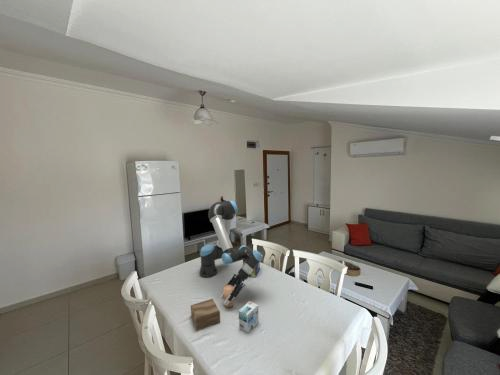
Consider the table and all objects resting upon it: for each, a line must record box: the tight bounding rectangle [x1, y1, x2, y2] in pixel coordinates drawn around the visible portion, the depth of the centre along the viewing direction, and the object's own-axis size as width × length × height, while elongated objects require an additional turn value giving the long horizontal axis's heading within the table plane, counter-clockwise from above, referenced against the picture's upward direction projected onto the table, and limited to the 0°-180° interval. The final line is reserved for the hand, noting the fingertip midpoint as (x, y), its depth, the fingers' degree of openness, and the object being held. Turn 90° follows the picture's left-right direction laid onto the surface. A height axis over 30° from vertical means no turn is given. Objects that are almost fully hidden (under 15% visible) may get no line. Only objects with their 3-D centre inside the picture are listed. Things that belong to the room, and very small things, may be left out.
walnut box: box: [190, 298, 221, 331], centre depth 131 cm, size 14×14×7 cm
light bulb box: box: [238, 301, 260, 334], centre depth 125 cm, size 11×7×11 cm, turn 143°
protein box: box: [242, 259, 261, 279], centre depth 185 cm, size 10×15×16 cm
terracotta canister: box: [223, 284, 234, 308], centre depth 143 cm, size 6×6×12 cm
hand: (223, 301), depth 141 cm, fingers closed on terracotta canister, 6 cm apart
